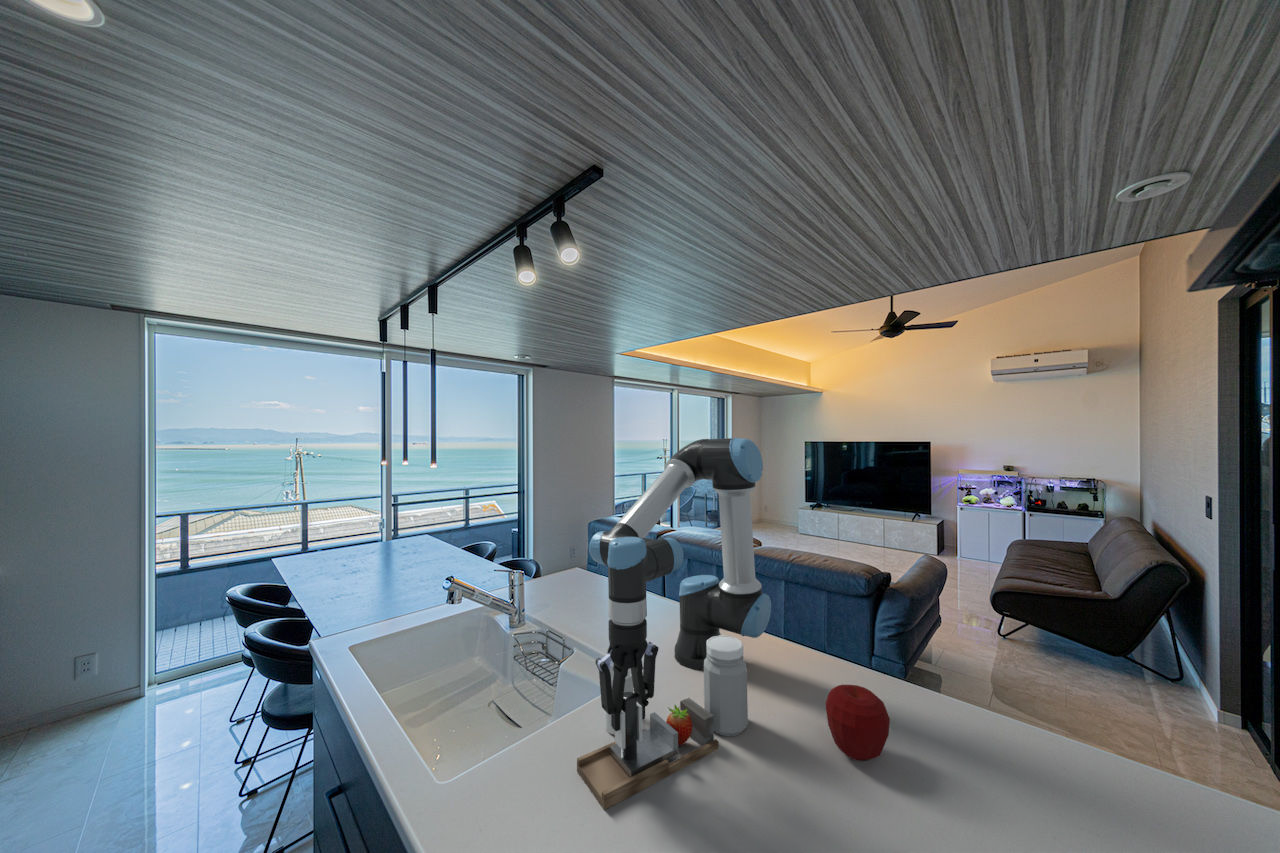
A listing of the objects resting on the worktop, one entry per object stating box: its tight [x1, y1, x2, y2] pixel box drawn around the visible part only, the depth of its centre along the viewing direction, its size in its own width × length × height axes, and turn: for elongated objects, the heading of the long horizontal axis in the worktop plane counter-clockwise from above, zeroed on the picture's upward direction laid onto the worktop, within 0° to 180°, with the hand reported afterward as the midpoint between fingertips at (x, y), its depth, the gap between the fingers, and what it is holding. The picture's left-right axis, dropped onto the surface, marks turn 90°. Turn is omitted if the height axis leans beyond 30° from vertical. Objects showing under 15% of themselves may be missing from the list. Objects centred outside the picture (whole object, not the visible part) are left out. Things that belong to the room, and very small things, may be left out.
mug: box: [603, 664, 634, 736], centre depth 100 cm, size 10×7×12 cm, turn 160°
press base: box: [576, 697, 720, 811], centre depth 88 cm, size 27×11×6 cm, turn 124°
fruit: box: [665, 704, 692, 746], centre depth 92 cm, size 5×5×8 cm
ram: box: [610, 691, 679, 777], centre depth 87 cm, size 11×8×12 cm
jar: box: [703, 634, 749, 737], centre depth 99 cm, size 10×10×18 cm
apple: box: [825, 684, 891, 762], centre depth 89 cm, size 12×12×13 cm
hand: (628, 740), depth 85 cm, fingers closed on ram, 3 cm apart
